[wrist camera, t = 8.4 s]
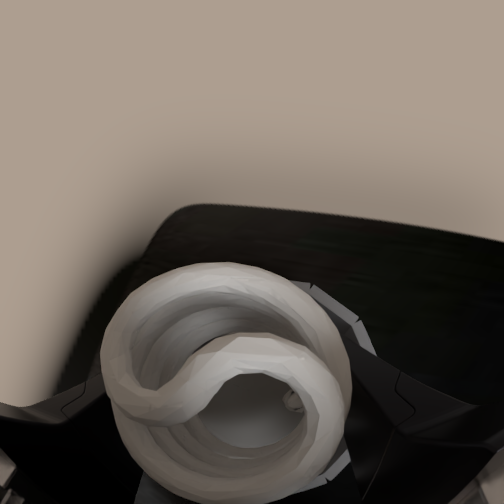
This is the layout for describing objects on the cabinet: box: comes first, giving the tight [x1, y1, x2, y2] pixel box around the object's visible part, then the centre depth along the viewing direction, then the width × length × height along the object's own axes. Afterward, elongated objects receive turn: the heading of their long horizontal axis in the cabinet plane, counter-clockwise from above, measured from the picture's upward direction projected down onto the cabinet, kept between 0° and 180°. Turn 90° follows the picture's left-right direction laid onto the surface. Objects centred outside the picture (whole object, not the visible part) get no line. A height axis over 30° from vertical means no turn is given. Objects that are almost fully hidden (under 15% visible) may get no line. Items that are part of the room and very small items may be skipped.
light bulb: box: [100, 262, 352, 504], centre depth 9 cm, size 6×6×12 cm
